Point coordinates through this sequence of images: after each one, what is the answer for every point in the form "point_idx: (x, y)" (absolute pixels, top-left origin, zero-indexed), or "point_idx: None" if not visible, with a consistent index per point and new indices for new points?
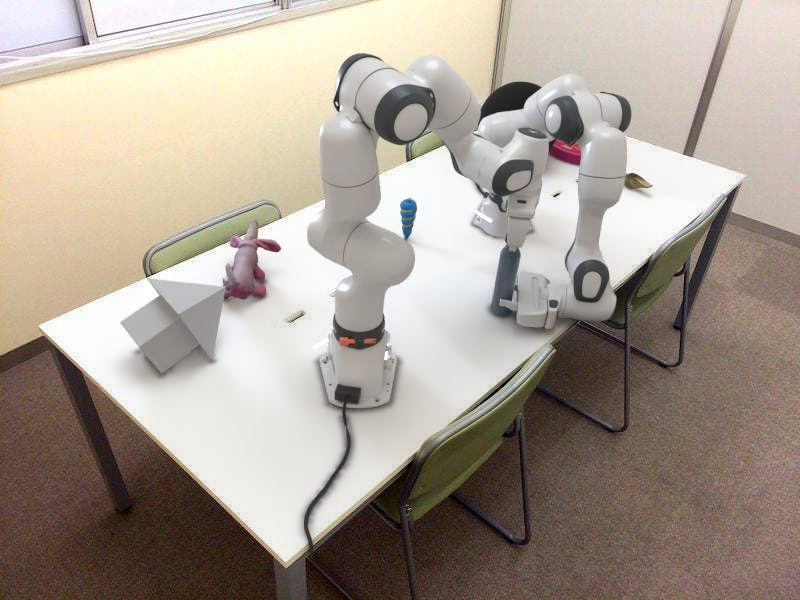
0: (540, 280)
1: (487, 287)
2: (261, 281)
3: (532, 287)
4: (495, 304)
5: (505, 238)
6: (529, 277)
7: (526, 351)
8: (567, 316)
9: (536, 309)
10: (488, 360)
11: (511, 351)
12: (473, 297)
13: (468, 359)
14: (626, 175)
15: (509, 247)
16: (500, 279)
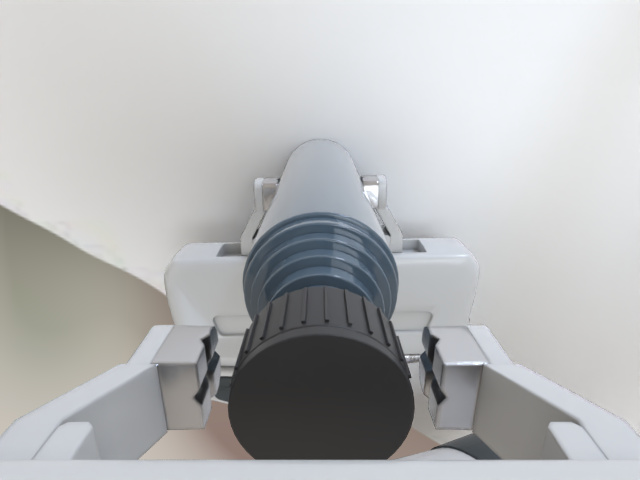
0: (412, 339)
1: (453, 118)
2: None
3: None
4: (289, 159)
5: (326, 298)
6: (428, 300)
7: (126, 263)
8: None
9: (220, 323)
10: (31, 146)
11: (108, 219)
12: (377, 63)
13: (3, 73)
14: None
15: (142, 344)
16: (275, 192)
